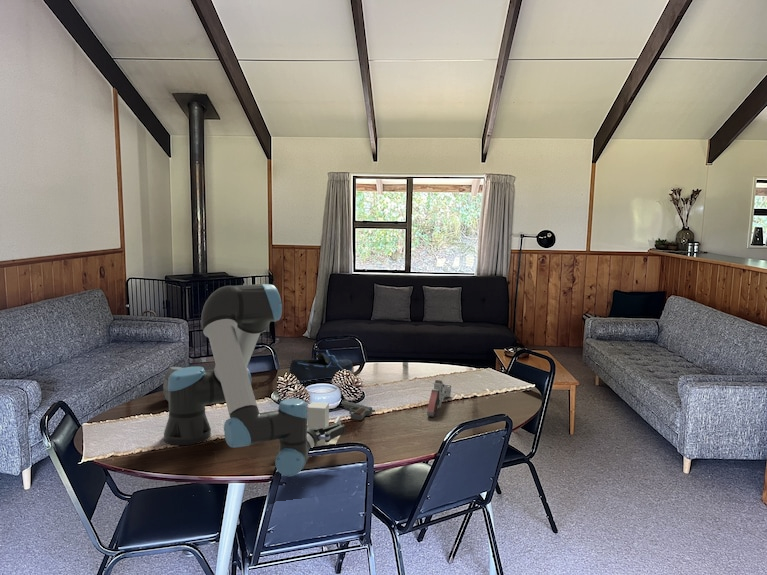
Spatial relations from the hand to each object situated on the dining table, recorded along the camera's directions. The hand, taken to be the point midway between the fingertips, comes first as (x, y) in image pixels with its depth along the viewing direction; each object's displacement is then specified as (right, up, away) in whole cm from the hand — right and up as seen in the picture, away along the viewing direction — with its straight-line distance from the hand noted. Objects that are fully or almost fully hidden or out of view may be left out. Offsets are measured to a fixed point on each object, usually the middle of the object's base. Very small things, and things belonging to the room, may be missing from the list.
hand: (318, 419), depth 188 cm
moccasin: (-8, 0, +88) cm, 89 cm away
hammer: (-51, -3, +57) cm, 76 cm away
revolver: (+44, -6, +46) cm, 64 cm away
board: (0, -9, +6) cm, 11 cm away
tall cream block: (0, -8, +2) cm, 8 cm away
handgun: (+9, -6, +37) cm, 38 cm away
